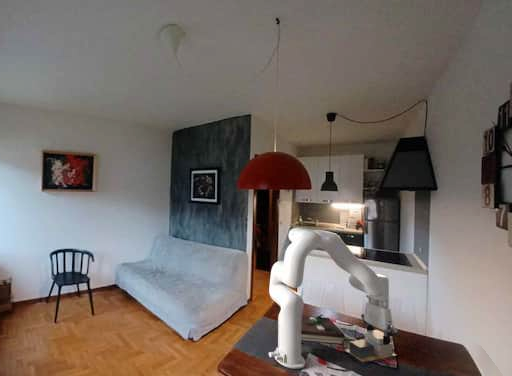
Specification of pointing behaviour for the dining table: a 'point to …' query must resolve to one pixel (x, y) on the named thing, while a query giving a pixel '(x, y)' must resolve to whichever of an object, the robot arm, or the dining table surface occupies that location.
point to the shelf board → (370, 357)
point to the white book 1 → (375, 336)
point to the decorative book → (320, 331)
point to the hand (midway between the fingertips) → (378, 339)
